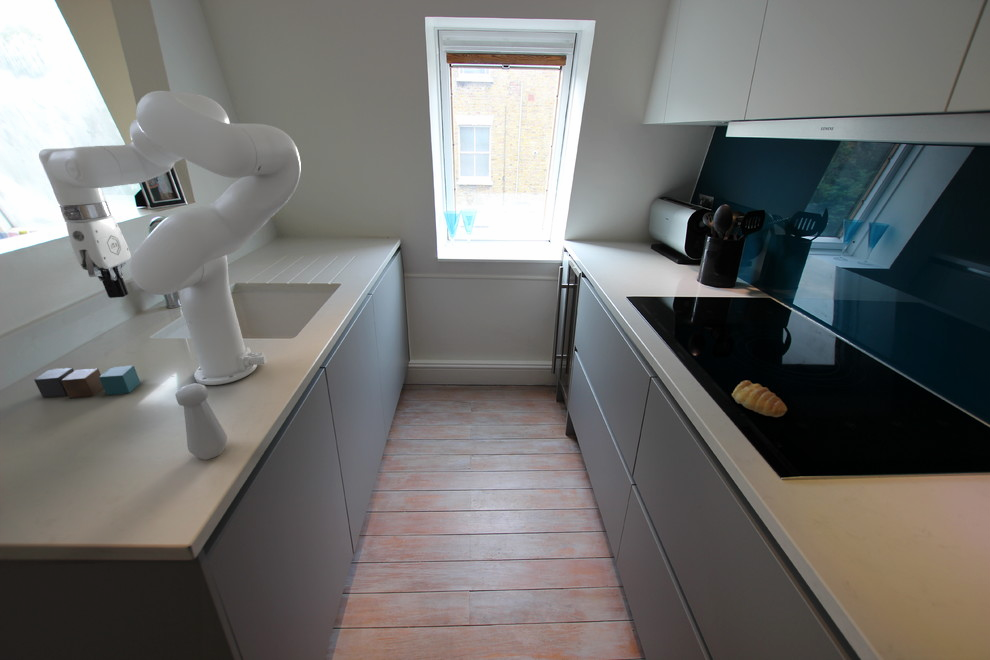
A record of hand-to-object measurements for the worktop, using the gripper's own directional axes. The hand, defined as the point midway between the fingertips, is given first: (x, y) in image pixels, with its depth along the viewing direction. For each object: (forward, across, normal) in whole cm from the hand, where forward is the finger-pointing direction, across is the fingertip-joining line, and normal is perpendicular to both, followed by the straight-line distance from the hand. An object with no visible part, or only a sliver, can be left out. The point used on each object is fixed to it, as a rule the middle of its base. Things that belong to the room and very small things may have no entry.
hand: (118, 296), depth 99 cm
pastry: (+20, -41, -132) cm, 139 cm away
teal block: (+18, -11, -1) cm, 21 cm away
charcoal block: (+17, -10, +11) cm, 23 cm away
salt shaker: (+18, -37, -29) cm, 50 cm away
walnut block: (+17, -11, +6) cm, 21 cm away
